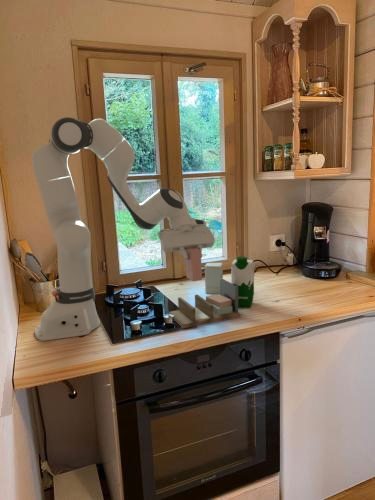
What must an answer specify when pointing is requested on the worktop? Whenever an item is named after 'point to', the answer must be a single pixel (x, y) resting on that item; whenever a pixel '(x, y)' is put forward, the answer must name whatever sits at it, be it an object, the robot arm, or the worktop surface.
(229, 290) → the dark metal bookend
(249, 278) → the milk carton
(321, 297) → the worktop surface
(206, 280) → the supplement box
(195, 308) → the walnut book rack
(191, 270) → the rose book
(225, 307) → the toppled books
